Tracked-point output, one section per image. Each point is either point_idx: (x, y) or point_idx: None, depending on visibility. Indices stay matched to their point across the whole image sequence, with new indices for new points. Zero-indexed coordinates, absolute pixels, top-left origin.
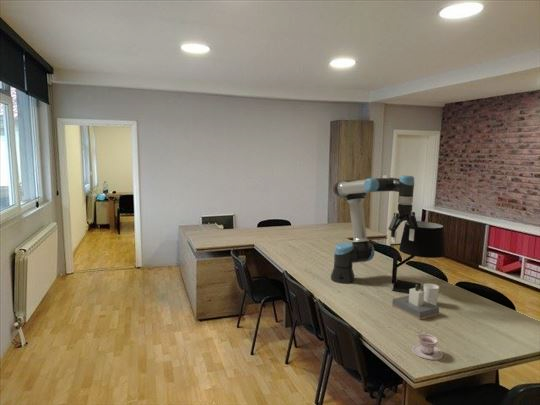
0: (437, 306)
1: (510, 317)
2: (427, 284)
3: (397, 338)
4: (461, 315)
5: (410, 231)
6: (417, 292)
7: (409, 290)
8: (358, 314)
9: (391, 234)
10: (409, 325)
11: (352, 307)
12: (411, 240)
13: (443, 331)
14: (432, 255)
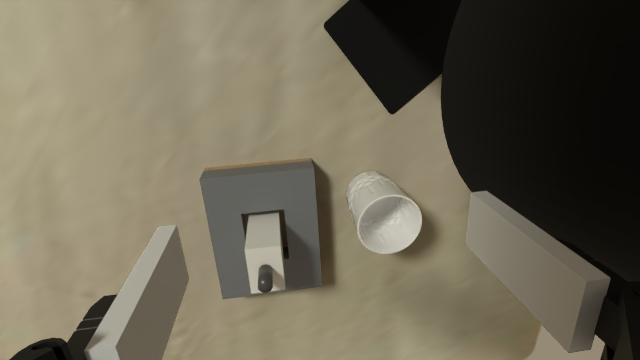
0: (321, 280)
1: (496, 331)
2: (399, 195)
3: None
4: (382, 290)
5: (548, 270)
6: (250, 287)
7: (402, 56)
8: (14, 189)
9: (82, 331)
10: None
11: (15, 124)
12: (468, 229)
13: (241, 348)
14: None
